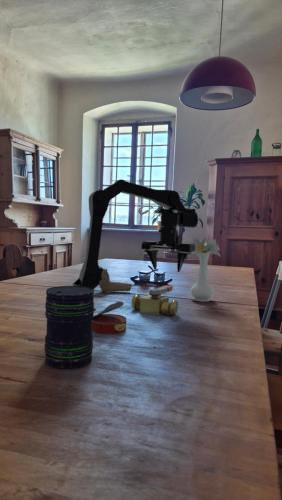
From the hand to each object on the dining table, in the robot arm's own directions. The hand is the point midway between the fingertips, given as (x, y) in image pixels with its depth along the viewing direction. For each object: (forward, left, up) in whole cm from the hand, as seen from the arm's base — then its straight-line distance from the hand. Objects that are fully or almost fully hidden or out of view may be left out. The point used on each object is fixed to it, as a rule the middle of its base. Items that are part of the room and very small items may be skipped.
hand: (166, 270), depth 121 cm
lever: (-5, 0, -7) cm, 9 cm away
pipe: (+10, +29, -13) cm, 34 cm away
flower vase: (+20, -6, -13) cm, 25 cm away
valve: (-9, 0, -13) cm, 16 cm away
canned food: (-33, +2, -14) cm, 36 cm away
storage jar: (-56, -4, -13) cm, 58 cm away
